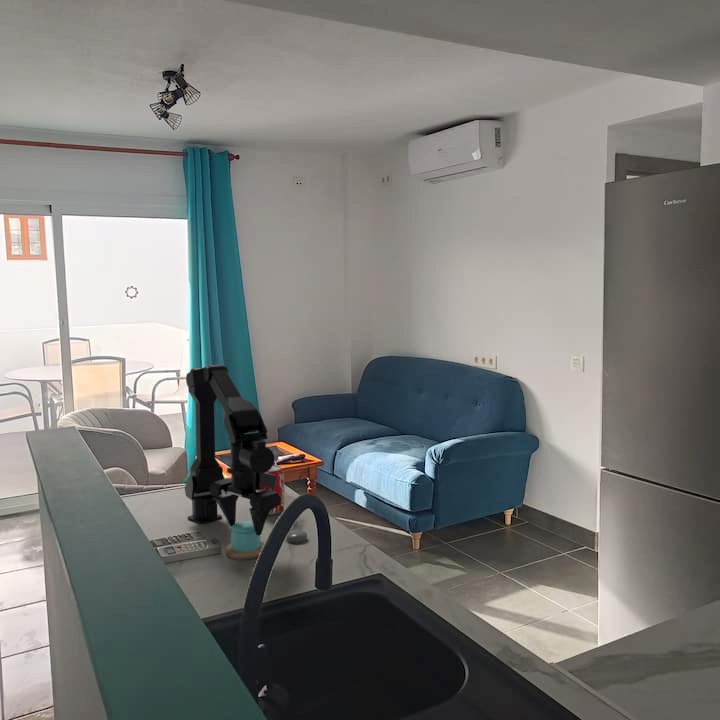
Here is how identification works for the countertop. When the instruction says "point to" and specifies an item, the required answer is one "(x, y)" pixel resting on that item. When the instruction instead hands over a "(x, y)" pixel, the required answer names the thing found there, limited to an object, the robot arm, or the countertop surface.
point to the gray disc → (296, 537)
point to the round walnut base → (242, 553)
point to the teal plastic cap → (244, 537)
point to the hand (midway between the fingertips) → (245, 530)
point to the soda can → (277, 488)
